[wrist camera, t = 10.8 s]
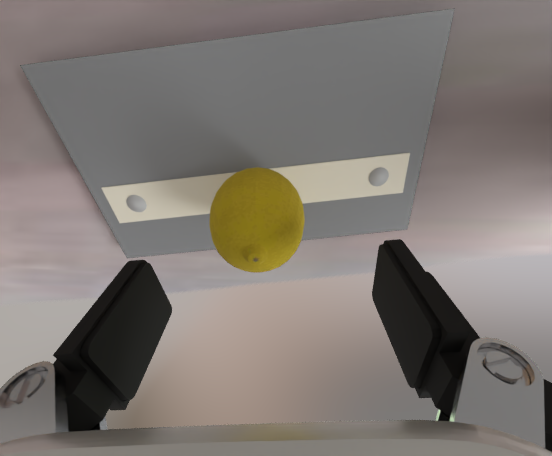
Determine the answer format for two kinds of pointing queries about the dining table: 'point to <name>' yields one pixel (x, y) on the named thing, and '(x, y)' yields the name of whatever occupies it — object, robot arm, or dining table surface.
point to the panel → (251, 116)
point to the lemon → (256, 220)
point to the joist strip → (305, 178)
